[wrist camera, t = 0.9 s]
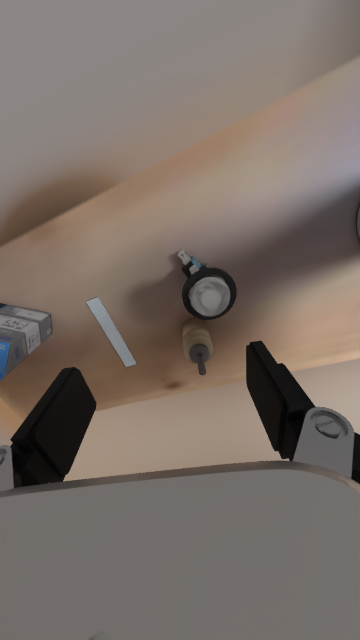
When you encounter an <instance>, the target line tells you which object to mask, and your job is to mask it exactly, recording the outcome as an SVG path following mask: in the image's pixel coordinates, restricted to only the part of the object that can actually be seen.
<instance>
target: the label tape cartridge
mask: <svg viewBox="0 0 360 640" xmlns="http://www.w3.org/2000/svg"><path fill="white" fill-rule="evenodd" d="M51 334H52V325H51V314H50V313H46V312H41V311H36V310H31V309H26V308H21V307H16V306H11V305H6V304H1V303H0V381H1V380H2V379H3V378H4V377H5V376H6V375H7V374H8V373H10V372H11V371H12V370H13V369H14V368H15V367H16V366H17V365H18V364H19V363H21V362H22V361H23V360H24V359H25V358H26V357H27V356H28V355H29V354H30V353H31V352H33V351H34V350H35V349H36V348H37V347H38V346H39V345H40V344H41V343H42V342H43V341H45V340H46V339H47V338H48V337H49V336H50V335H51Z"/></svg>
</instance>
